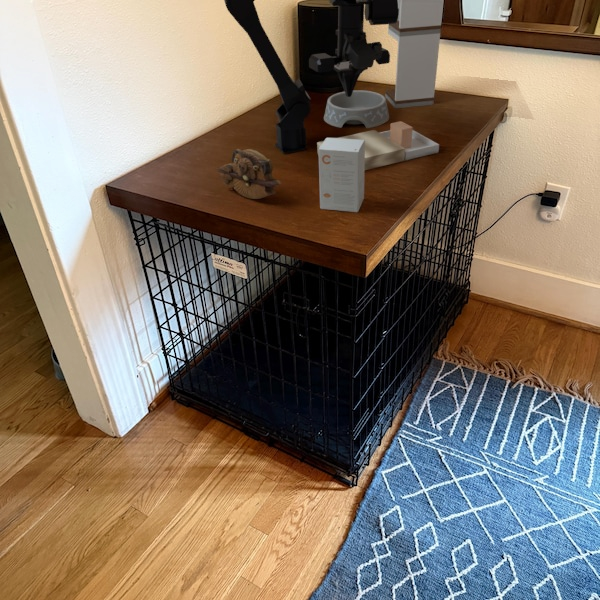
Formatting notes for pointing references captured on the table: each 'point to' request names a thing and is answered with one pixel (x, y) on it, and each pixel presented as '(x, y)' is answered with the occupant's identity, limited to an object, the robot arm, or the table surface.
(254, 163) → the wooden carving
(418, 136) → the bin
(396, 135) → the tall peach block
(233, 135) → the table surface
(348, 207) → the small box
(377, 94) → the dog bowl
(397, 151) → the platform
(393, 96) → the banded white pillar
